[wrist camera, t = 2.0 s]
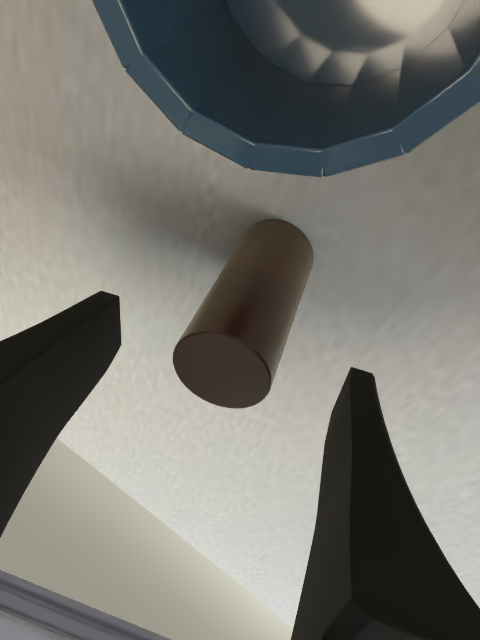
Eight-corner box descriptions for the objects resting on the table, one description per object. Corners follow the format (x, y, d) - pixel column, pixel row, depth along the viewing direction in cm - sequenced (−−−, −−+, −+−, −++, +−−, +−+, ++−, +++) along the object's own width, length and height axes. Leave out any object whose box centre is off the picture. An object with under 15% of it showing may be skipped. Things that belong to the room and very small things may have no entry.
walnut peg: (329, 262, 18) (292, 388, 13) (273, 297, 20) (222, 420, 15) (279, 204, 17) (218, 314, 12) (225, 246, 19) (153, 358, 14)
